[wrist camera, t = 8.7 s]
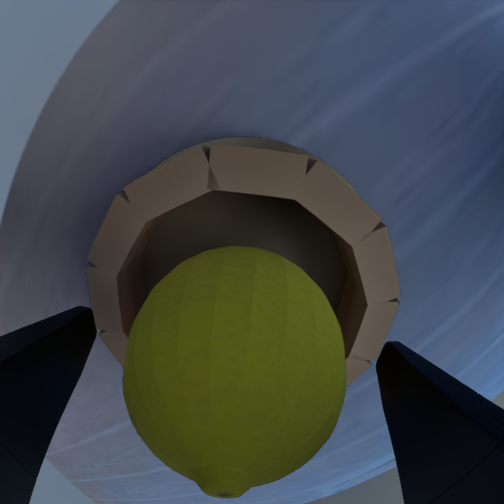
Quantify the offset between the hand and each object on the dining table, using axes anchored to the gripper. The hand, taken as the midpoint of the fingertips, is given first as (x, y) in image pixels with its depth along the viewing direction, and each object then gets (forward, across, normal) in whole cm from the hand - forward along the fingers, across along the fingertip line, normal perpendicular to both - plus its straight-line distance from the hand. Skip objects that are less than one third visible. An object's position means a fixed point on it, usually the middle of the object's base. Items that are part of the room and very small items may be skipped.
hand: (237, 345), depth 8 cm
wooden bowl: (+4, 0, 0) cm, 4 cm away
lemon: (+4, 0, 0) cm, 4 cm away
